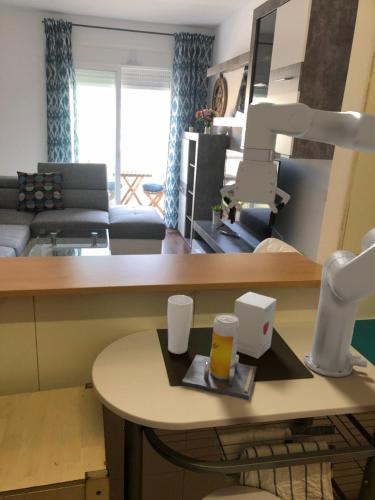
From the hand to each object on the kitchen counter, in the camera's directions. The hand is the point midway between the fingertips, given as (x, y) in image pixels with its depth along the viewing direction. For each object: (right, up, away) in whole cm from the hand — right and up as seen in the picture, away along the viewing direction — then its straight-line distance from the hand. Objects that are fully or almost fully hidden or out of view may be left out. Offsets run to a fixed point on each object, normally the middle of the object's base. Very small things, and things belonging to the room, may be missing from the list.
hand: (251, 225), depth 106 cm
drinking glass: (-19, -34, +10) cm, 40 cm away
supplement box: (+2, -34, +13) cm, 37 cm away
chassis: (-8, -38, -2) cm, 39 cm away
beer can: (-8, -37, -2) cm, 38 cm away
